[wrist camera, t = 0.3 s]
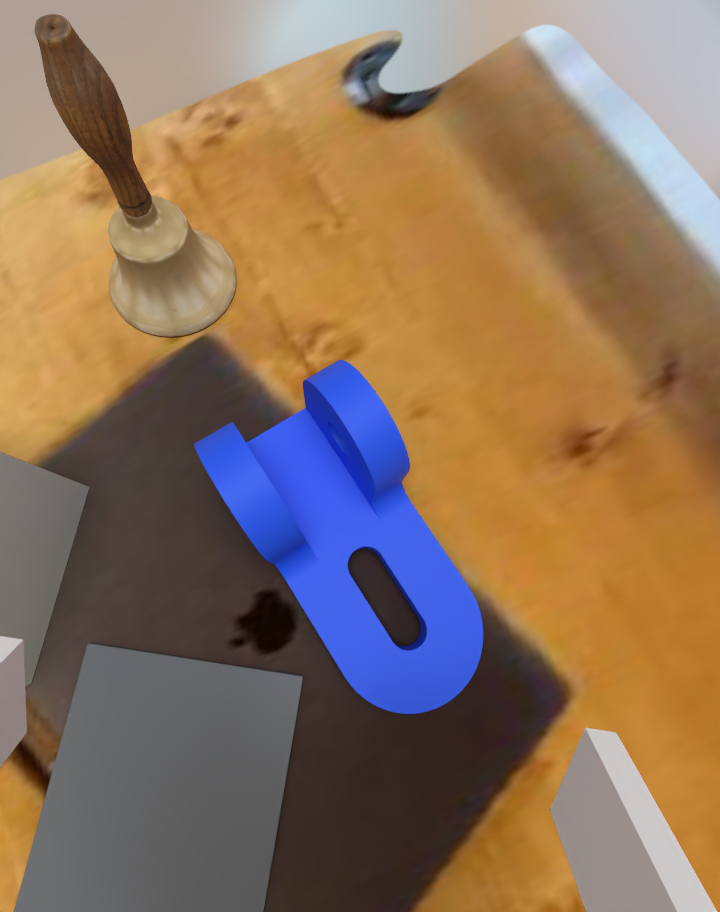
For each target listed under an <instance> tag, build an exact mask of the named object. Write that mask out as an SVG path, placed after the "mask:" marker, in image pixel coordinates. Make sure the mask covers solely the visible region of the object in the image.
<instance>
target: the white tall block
mask: <svg viewBox="0 0 720 912" xmlns="http://www.w3.org/2000/svg"><path fill="white" fill-rule="evenodd" d="M88 491H89V487H88V486H85V485H83V484H80V483H78V482H75V481H73V480H70V479H68V478H65V477H63V476H60V475H57V474H55V473H52V472H50V471H47V470H45V469H42V468H40V467H37V466H35V465H32V464H30V463H27V462H25V461H22V460H20V459H17V458H14V457H12V456H9V455H7V454H4V453H2V452H0V636H3V637H10V638H16V639H23V642H24V669H25V686H27V685H29V684H31V683H32V679H33V676H34V673H35V669H36V666H37V663H38V659H39V656H40V653H41V649H42V646H43V642H44V639H45V636H46V632H47V629H48V626H49V622H50V619H51V615H52V612H53V609H54V605H55V602H56V599H57V595H58V592H59V589H60V585H61V582H62V578H63V575H64V572H65V568H66V565H67V562H68V558H69V555H70V551H71V548H72V545H73V541H74V538H75V535H76V531H77V528H78V524H79V521H80V518H81V514H82V511H83V508H84V504H85V501H86V498H87V494H88Z"/></svg>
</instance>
